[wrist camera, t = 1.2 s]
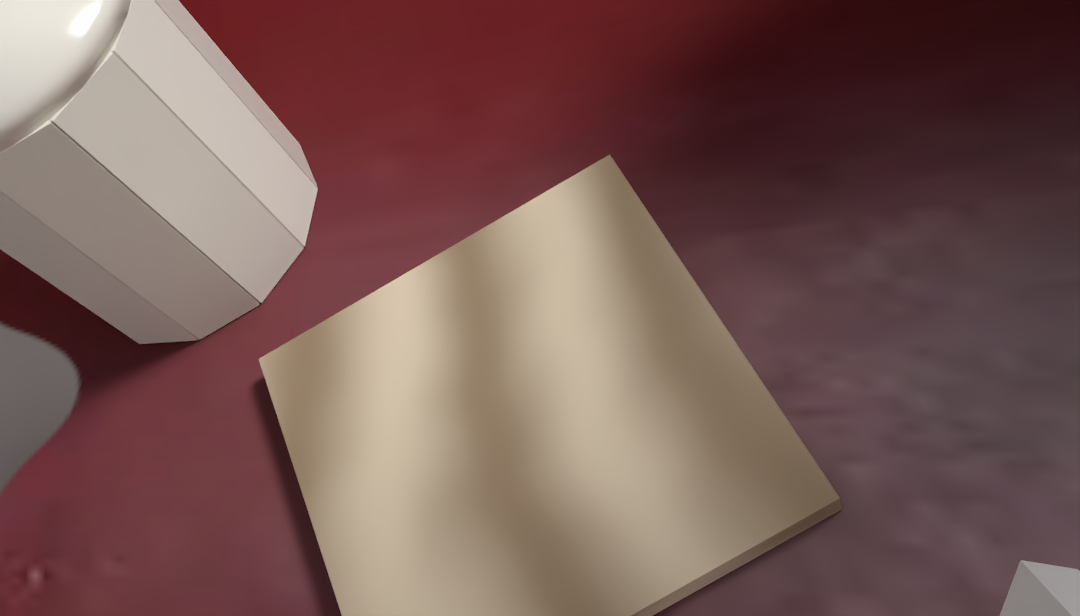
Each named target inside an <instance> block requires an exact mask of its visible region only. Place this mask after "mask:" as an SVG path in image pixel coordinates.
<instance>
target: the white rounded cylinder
mask: <svg viewBox="0 0 1080 616" xmlns="http://www.w3.org/2000/svg"><path fill="white" fill-rule="evenodd" d="M317 188H318V187H317V185H316V182H315V180H314V177H313V175H312V173H311V170H310V168H309V165H308V163H307V161H306V158H305V156H304V153H303V151H302V149H301V146H300V144H299V143H298V142H297V141H296V139H295V138H294V137H293V136H292V135H291V133H290V132H289V131H288V130H287V129H286V127H285V126H284V125H283V124H282V123H281V122H280V120H279V119H278V118H277V117H276V116H275V114H274V113H273V112H272V111H271V110H270V108H269V107H268V106H267V105H266V104H265V103H264V101H263V100H262V99H261V98H260V97H259V95H258V94H257V93H256V92H255V91H254V89H253V88H252V87H251V86H250V85H249V84H248V82H247V81H246V80H245V79H244V78H243V76H242V75H241V74H240V73H239V72H238V70H237V69H236V68H235V67H234V66H233V65H232V63H231V62H230V61H229V60H228V59H227V57H226V56H225V55H224V54H223V53H222V51H221V50H220V49H219V48H218V47H217V46H216V44H215V43H214V42H213V41H212V40H211V38H210V37H209V36H208V35H207V34H206V32H205V31H204V30H203V29H202V28H201V27H200V25H199V24H198V23H197V22H196V21H195V19H194V18H193V17H192V16H191V15H190V13H189V12H188V11H187V10H186V9H185V8H184V6H183V5H182V4H181V3H180V2H179V0H0V249H1V250H2V251H4V252H5V253H7V254H8V255H10V256H11V257H13V258H14V259H15V260H17V261H18V262H20V263H21V264H23V265H24V266H26V267H27V268H29V269H30V270H32V271H33V272H34V273H36V274H37V275H39V276H40V277H42V278H43V279H45V280H46V281H48V282H49V283H51V284H52V285H54V286H55V287H56V288H58V289H59V290H61V291H62V292H64V293H65V294H67V295H68V296H70V297H71V298H73V299H74V300H76V301H77V302H78V303H80V304H81V305H83V306H84V307H86V308H87V309H89V310H90V311H92V312H93V313H95V314H96V315H98V316H99V317H100V318H102V319H103V320H105V321H106V322H108V323H109V324H111V325H112V326H114V327H115V328H117V329H118V330H119V331H121V332H122V333H124V334H125V335H127V336H128V337H130V338H131V339H133V340H134V341H136V342H137V343H139V344H150V343H165V342H180V341H195V340H199V339H200V340H201V339H202V338H204V337H206V336H207V335H209V334H211V333H212V332H214V331H216V330H218V329H219V328H221V327H223V326H224V325H226V324H228V323H230V322H231V321H233V320H235V319H236V318H238V317H240V316H242V315H243V314H245V313H247V312H248V311H250V310H252V309H253V308H255V307H257V306H259V305H260V303H262V302H263V301H264V299H265V298H266V297H267V296H268V294H269V293H270V292H271V290H272V289H273V288H274V287H275V285H276V284H277V283H278V281H279V280H280V279H281V277H282V276H283V275H284V274H285V272H286V271H287V270H288V268H289V267H290V266H291V264H292V263H293V262H294V261H295V259H296V258H297V257H298V255H299V254H300V253H301V252H302V250H303V249H304V248H303V247H304V246H305V244H306V239H307V235H308V230H309V226H310V222H311V217H312V213H313V208H314V204H315V199H316V195H317V190H318V189H317ZM259 302H260V303H259Z"/></svg>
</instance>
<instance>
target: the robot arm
mask: <svg viewBox="0 0 1080 616" xmlns="http://www.w3.org/2000/svg"><path fill="white" fill-rule="evenodd" d="M999 616H1080V571H1079V570H1078V569H1073V568H1067V567H1061V566H1054V565H1048V564H1042V563H1036V562H1030V561H1023V560H1020V563H1019V565H1018V568H1017V571H1016V573H1015V576H1014V578H1013V581H1012V584H1011V586H1010V589H1009V592H1008V594H1007V597H1006V600H1005V602H1004V605H1003V608H1002V610H1001V613H1000V615H999Z"/></svg>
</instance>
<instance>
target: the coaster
mask: <svg viewBox="0 0 1080 616" xmlns="http://www.w3.org/2000/svg"><path fill="white" fill-rule="evenodd" d="M259 362H260V365H261V368H262V371H263V374H264V377H265V380H266V383H267V386H268V390H269V393H270V396H271V399H272V402H273V405H274V408H275V411H276V414H277V417H278V420H279V423H280V427H281V430H282V433H283V436H284V439H285V442H286V445H287V448H288V451H289V454H290V457H291V460H292V464H293V467H294V470H295V473H296V476H297V479H298V482H299V485H300V488H301V491H302V494H303V497H304V501H305V504H306V507H307V510H308V513H309V516H310V519H311V522H312V525H313V528H314V531H315V534H316V538H317V541H318V544H319V547H320V550H321V553H322V556H323V559H324V562H325V565H326V568H327V571H328V575H329V578H330V581H331V584H332V587H333V590H334V593H335V596H336V599H337V602H338V605H339V608H340V612H341V615H342V616H653V615H655V614H656V613H658V612H660V611H662V610H664V609H665V608H667V607H669V606H671V605H673V604H674V603H676V602H678V601H680V600H681V599H683V598H685V597H687V596H689V595H690V594H692V593H694V592H696V591H697V590H699V589H701V588H703V587H705V586H706V585H708V584H710V583H712V582H714V581H715V580H717V579H719V578H721V577H722V576H724V575H726V574H728V573H730V572H731V571H733V570H735V569H737V568H738V567H740V566H742V565H744V564H746V563H747V562H749V561H751V560H753V559H755V558H756V557H758V556H760V555H762V554H763V553H765V552H767V551H769V550H771V549H772V548H774V547H776V546H778V545H779V544H781V543H783V542H785V541H787V540H788V539H790V538H792V537H794V536H796V535H797V534H799V533H801V532H803V531H804V530H806V529H808V528H810V527H812V526H813V525H815V524H817V523H819V522H820V521H822V520H824V519H826V518H828V517H829V516H831V515H833V514H835V513H836V512H838V511H840V510H842V506H841V500H840V497H839V496H838V494H837V493H836V491H835V490H834V488H833V487H832V485H831V484H830V482H829V481H828V479H827V478H826V476H825V475H824V473H823V472H822V470H821V469H820V467H819V466H818V464H817V463H816V461H815V460H814V459H813V457H812V456H811V454H810V453H809V451H808V450H807V448H806V447H805V445H804V444H803V442H802V441H801V439H800V438H799V436H798V435H797V433H796V432H795V430H794V429H793V427H792V426H791V424H790V423H789V421H788V420H787V418H786V417H785V415H784V414H783V412H782V411H781V409H780V408H779V406H778V405H777V403H776V402H775V400H774V399H773V397H772V396H771V394H770V393H769V391H768V390H767V388H766V387H765V385H764V384H763V382H762V381H761V379H760V378H759V376H758V375H757V373H756V372H755V370H754V369H753V368H752V366H751V365H750V363H749V362H748V360H747V359H746V357H745V356H744V354H743V353H742V351H741V350H740V348H739V347H738V345H737V344H736V342H735V341H734V339H733V338H732V336H731V335H730V333H729V332H728V330H727V329H726V327H725V326H724V324H723V323H722V321H721V320H720V318H719V317H718V315H717V314H716V312H715V311H714V309H713V308H712V306H711V305H710V303H709V302H708V300H707V299H706V297H705V296H704V294H703V293H702V291H701V290H700V288H699V287H698V285H697V284H696V282H695V281H694V279H693V278H692V277H691V275H690V274H689V272H688V271H687V269H686V268H685V266H684V265H683V263H682V262H681V260H680V259H679V257H678V256H677V254H676V253H675V251H674V250H673V248H672V247H671V245H670V244H669V242H668V241H667V239H666V238H665V236H664V235H663V233H662V232H661V230H660V229H659V227H658V226H657V224H656V223H655V221H654V220H653V218H652V217H651V215H650V214H649V212H648V211H647V209H646V208H645V206H644V205H643V203H642V202H641V200H640V199H639V197H638V196H637V194H636V193H635V191H634V190H633V188H632V187H631V186H630V184H629V183H628V181H627V180H626V178H625V177H624V175H623V174H622V172H621V171H620V169H619V168H618V166H617V165H616V163H615V162H614V160H613V159H612V157H611V156H610V155H608V156H606V157H605V158H603V159H601V160H599V161H598V162H596V163H594V164H593V165H591V166H589V167H587V168H586V169H584V170H582V171H581V172H579V173H577V174H575V175H574V176H572V177H570V178H569V179H567V180H565V181H563V182H562V183H560V184H558V185H557V186H555V187H553V188H551V189H550V190H548V191H546V192H544V193H543V194H541V195H539V196H538V197H536V198H534V199H532V200H531V201H529V202H527V203H526V204H524V205H522V206H520V207H519V208H517V209H515V210H514V211H512V212H510V213H508V214H507V215H505V216H503V217H502V218H500V219H498V220H496V221H495V222H493V223H491V224H490V225H488V226H486V227H484V228H483V229H481V230H479V231H478V232H476V233H474V234H472V235H471V236H469V237H467V238H466V239H464V240H462V241H460V242H459V243H457V244H455V245H454V246H452V247H450V248H448V249H447V250H445V251H443V252H442V253H440V254H438V255H436V256H435V257H433V258H431V259H430V260H428V261H426V262H424V263H423V264H421V265H419V266H418V267H416V268H414V269H412V270H411V271H409V272H407V273H405V274H404V275H402V276H400V277H399V278H397V279H395V280H393V281H392V282H390V283H388V284H387V285H385V286H383V287H381V288H380V289H378V290H376V291H375V292H373V293H371V294H369V295H368V296H366V297H364V298H363V299H361V300H359V301H357V302H356V303H354V304H352V305H351V306H349V307H347V308H345V309H344V310H342V311H340V312H339V313H337V314H335V315H333V316H332V317H330V318H328V319H327V320H325V321H323V322H321V323H320V324H318V325H316V326H315V327H313V328H311V329H309V330H308V331H306V332H304V333H303V334H301V335H299V336H297V337H296V338H294V339H292V340H291V341H289V342H287V343H285V344H284V345H282V346H280V347H278V348H277V349H275V350H273V351H272V352H270V353H268V354H266V355H265V356H263V357H261V358H260V359H259Z"/></svg>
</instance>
